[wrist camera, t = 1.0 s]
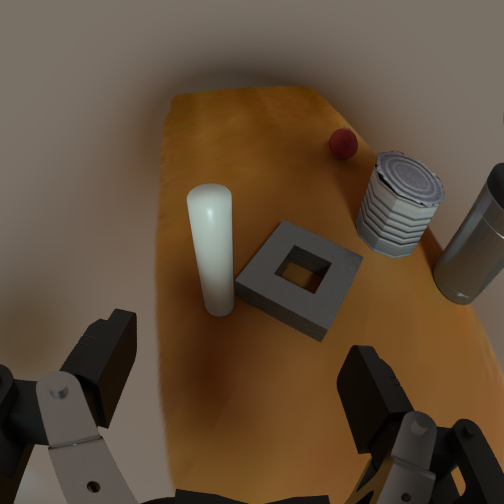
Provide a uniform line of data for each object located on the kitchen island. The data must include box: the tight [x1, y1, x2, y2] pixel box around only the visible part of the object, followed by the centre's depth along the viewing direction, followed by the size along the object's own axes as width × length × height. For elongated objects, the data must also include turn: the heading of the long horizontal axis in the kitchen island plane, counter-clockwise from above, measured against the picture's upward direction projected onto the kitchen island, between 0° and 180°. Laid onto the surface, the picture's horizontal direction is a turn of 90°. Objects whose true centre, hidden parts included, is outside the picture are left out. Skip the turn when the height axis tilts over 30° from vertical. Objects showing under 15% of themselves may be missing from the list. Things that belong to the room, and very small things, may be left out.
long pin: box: [187, 183, 234, 317], centre depth 31 cm, size 4×4×17 cm
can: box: [356, 151, 445, 258], centre depth 42 cm, size 11×11×12 cm
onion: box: [329, 125, 358, 160], centre depth 56 cm, size 6×6×8 cm
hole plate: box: [235, 220, 363, 342], centre depth 38 cm, size 12×12×4 cm
